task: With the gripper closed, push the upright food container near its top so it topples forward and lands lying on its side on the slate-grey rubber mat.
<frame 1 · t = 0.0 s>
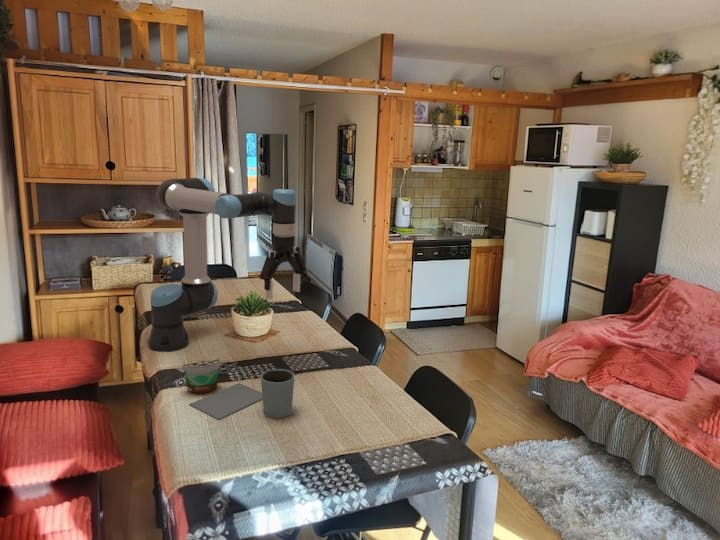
hand: (283, 294, 188), 28 cm above the table, fingers open, 13 cm apart
food container: (204, 392, 175), on the table
grey green cup: (277, 412, 164), on the table
mat: (229, 400, 169), on the table
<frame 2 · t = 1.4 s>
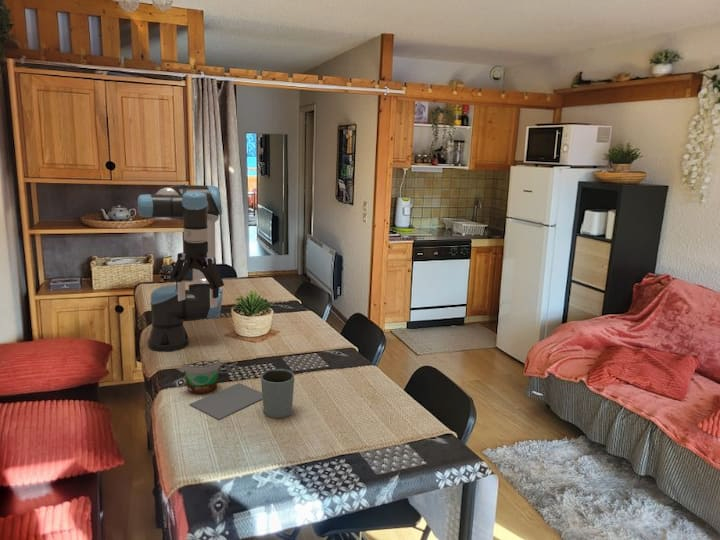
hand: (197, 303, 178), 27 cm above the table, fingers open, 13 cm apart
nothing on the table moved.
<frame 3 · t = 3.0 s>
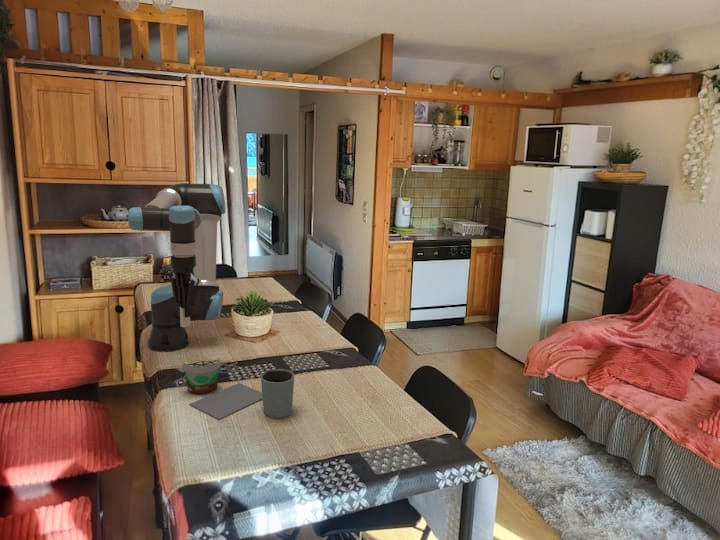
hand: (185, 325, 175), 20 cm above the table, fingers closed
nothing on the table moved.
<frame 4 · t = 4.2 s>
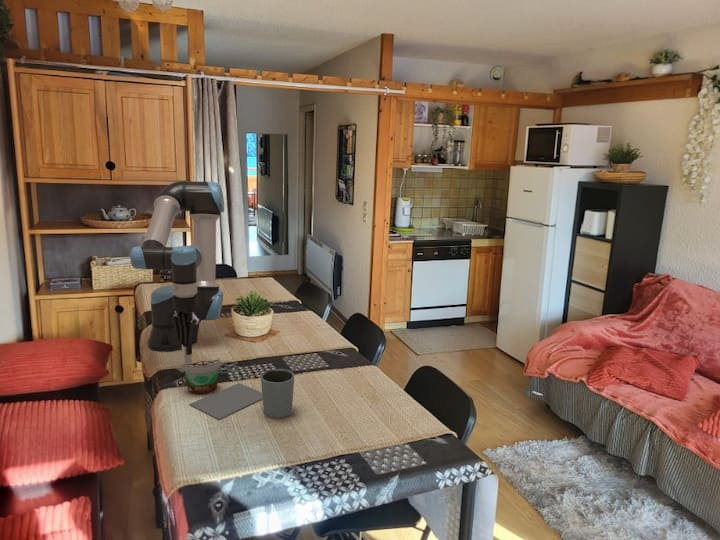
hand: (187, 362, 178), 7 cm above the table, fingers closed
nothing on the table moved.
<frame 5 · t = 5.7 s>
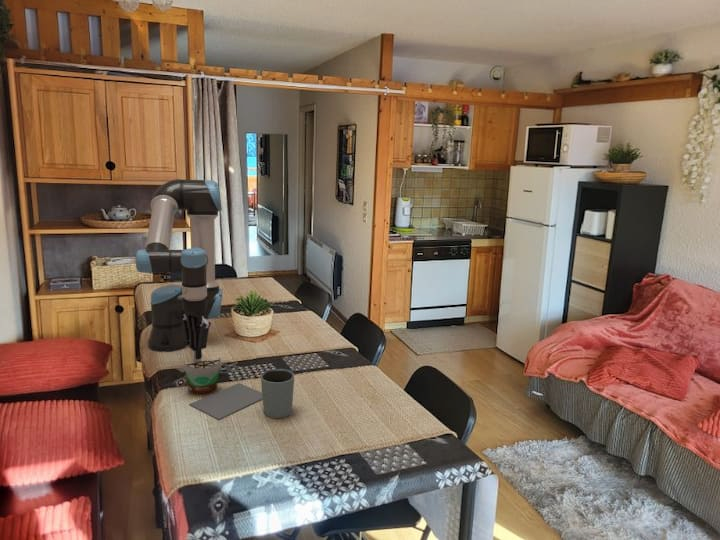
hand: (196, 367, 175), 7 cm above the table, fingers closed
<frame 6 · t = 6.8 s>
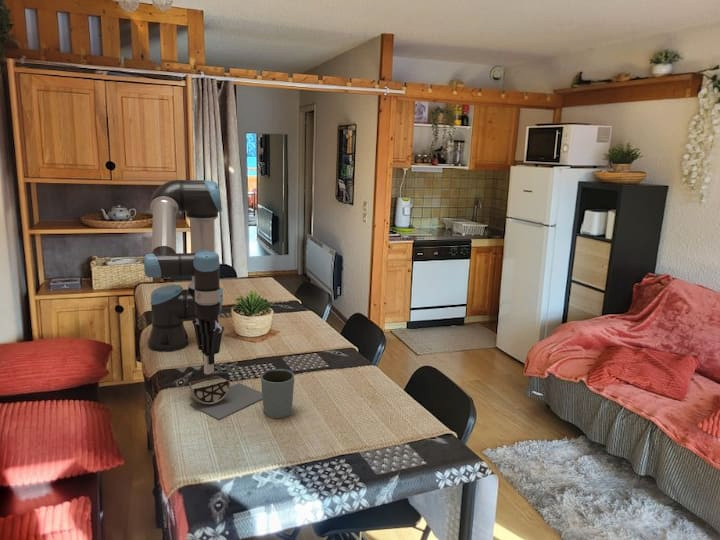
hand: (209, 372, 172), 7 cm above the table, fingers closed
food container: (204, 388, 173), point 2 cm above the table, touching mat
everything else where it was.
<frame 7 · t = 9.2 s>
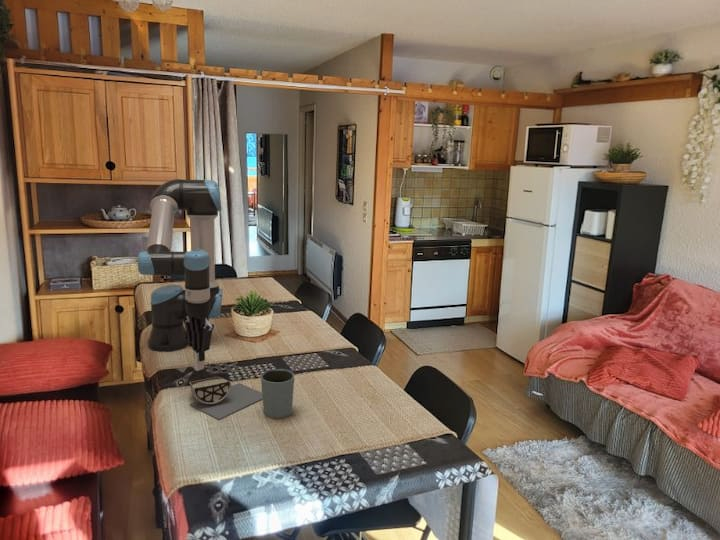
hand: (199, 368, 175), 7 cm above the table, fingers closed
nothing on the table moved.
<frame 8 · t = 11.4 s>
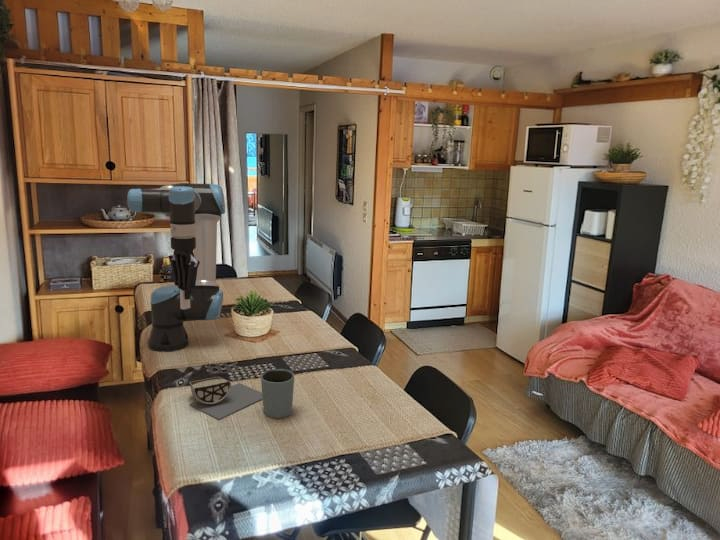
hand: (185, 308, 174), 26 cm above the table, fingers closed
nothing on the table moved.
at the end: food container tilted 79°; food container inside the target area (8.9 cm from its centre), point 1.8 cm above the table; the gripper is holding nothing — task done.
